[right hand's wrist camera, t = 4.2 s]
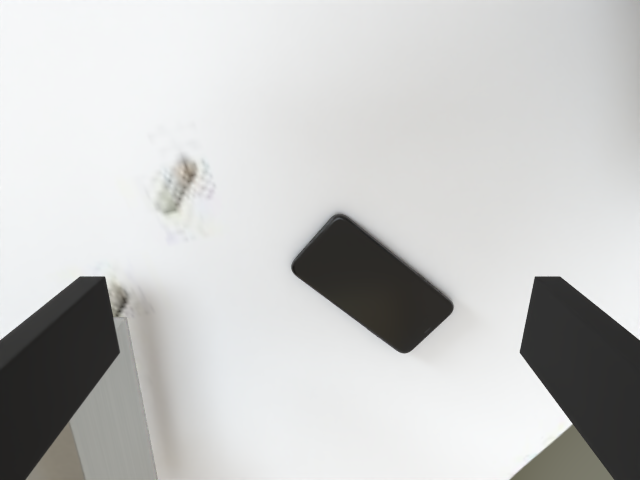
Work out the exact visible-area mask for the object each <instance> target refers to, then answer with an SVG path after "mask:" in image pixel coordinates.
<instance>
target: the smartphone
mask: <svg viewBox="0 0 640 480" xmlns="http://www.w3.org/2000/svg"><path fill="white" fill-rule="evenodd" d="M291 269H292V272H293V273H294V274H295V275H296V276H297V277H298V278H300V279H301V280H302V281H304V282H305V283H306V284H308V285H309V286H310V287H312V288H313V289H314V290H316V291H317V292H318V293H320V294H321V295H322V296H324V297H325V298H326V299H328V300H329V301H331V302H332V303H333V304H335V305H336V306H337V307H339V308H340V309H341V310H343V311H344V312H345V313H347V314H348V315H349V316H351V317H352V318H353V319H355V320H356V321H357V322H359V323H360V324H361V325H363V326H364V327H366V328H367V329H368V330H369V331H371V332H372V333H373V334H375V335H376V336H377V337H379V338H380V339H382V340H383V341H384V342H386V343H387V344H388V345H390V346H391V347H392V348H394V349H395V350H397V351H398V352H400V353H408V352H410V351H411V350H413V349H414V348H415V347H416V346H417V345H418V344H419V343H420V342H421V341H422V340H424V339H425V338H426V337H427V336H428V335H429V334H430V333H431V332H432V331H433V330H434V329H435V328H436V327H438V326H439V325H440V324H441V323H442V322H443V321H444V320H445V319H446V318H447V317H448V316H449V315H450V314H451V313H452V311H453V309H454V306H453V303H452V302H451V300H450V299H448V298H447V297H446V296H445V295H444V294H442V293H441V292H440V291H439V290H437V289H436V288H435V287H434V286H433V285H432V284H431V283H429V282H428V281H426V280H425V279H424V278H423V277H422V276H421V275H419V274H418V273H416V272H415V271H414V270H413V269H411V268H410V267H409V266H408V265H407V264H405V263H404V262H403V261H402V260H400V259H399V258H398V257H397V256H395V255H394V254H393V253H392V252H390V251H389V250H388V249H387V248H386V247H384V246H383V245H382V244H381V243H379V242H378V241H377V240H376V239H374V238H373V237H372V236H371V235H369V234H368V233H367V232H366V231H365V230H363V229H362V228H361V227H360V226H358V225H357V224H356V223H355V222H353V221H352V220H351V219H350V218H348V217H347V216H345V215H343V214H337V215H334V216H333V217H332V218H331V219H330V220H329V221H328V222H327V223H326V224H325V225H324V226H323V228H322V229H321V230H320V231H319V232H318V233H317V234H316V235H315V237H314V238H313V239H312V240H311V241H310V242H309V243H308V245H307V246H306V247H305V248H304V249H303V250H302V251H301V253H300V254H299V255H298V256H297V257H296V258H295V260H294V261H293V263H292V265H291Z"/></svg>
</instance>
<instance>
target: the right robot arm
mask: <svg viewBox="0 0 640 480" xmlns="http://www.w3.org/2000/svg"><path fill="white" fill-rule="evenodd" d="M119 354H120V349H119V344H118V339H117V334H116V329H115V324H114V319H113V314H112V309H111V304H110V299H109V294H108V289H107V284H106V279H105V277H79V278H78V279H76V280H75V281H74V282H73V283H71V284H70V285H69V286H68V287H66V288H65V289H64V290H63V291H61V292H60V293H59V294H58V295H56V296H55V297H54V298H53V299H51V300H50V301H49V302H48V303H46V304H45V305H44V306H43V307H41V308H40V309H39V310H38V311H36V312H35V313H34V314H33V315H31V316H30V317H29V318H28V319H26V320H25V321H24V322H23V323H21V324H20V325H19V326H18V327H16V328H15V329H14V330H13V331H11V332H10V333H9V334H8V335H6V336H5V337H4V338H3V339H1V340H0V480H26V479H27V477H28V476H29V474H30V473H31V472H32V470H33V469H34V468H35V466H36V465H37V464H38V462H39V461H40V460H41V458H42V457H43V456H44V454H45V453H46V452H47V450H48V449H49V448H50V446H51V445H52V444H53V442H54V441H55V440H56V438H57V437H58V436H59V434H60V433H61V432H62V430H63V429H64V427H65V426H66V425H67V423H68V422H69V421H70V419H71V418H72V417H73V415H74V414H75V413H76V411H77V410H78V409H79V407H80V406H81V405H82V403H83V402H84V401H85V399H86V398H87V397H88V395H89V394H90V393H91V391H92V390H93V389H94V387H95V386H96V385H97V383H98V382H99V380H100V379H101V378H102V376H103V375H104V374H105V372H106V371H107V370H108V368H109V367H110V366H111V364H112V363H113V362H114V360H115V359H116V358H117V356H118V355H119ZM520 354H521V355H522V356H523V358H524V359H525V360H526V362H527V363H528V364H529V366H530V367H531V368H532V370H533V371H534V372H535V374H536V375H537V376H538V378H539V379H540V380H541V382H542V383H543V385H544V386H545V387H546V389H547V390H548V391H549V393H550V394H551V395H552V397H553V398H554V399H555V401H556V402H557V403H558V405H559V406H560V407H561V409H562V410H563V411H564V413H565V414H566V415H567V417H568V418H569V419H570V421H571V422H572V423H573V425H574V426H575V427H576V429H577V430H578V431H579V433H580V434H581V436H582V437H583V438H584V440H585V441H586V442H587V444H588V445H589V446H590V448H591V449H592V450H593V452H594V453H595V454H596V456H597V457H598V458H599V460H600V461H601V462H602V464H603V465H604V466H605V468H606V469H607V470H608V472H609V473H610V474H611V476H612V477H613V479H614V480H640V340H639V339H637V338H636V337H635V336H634V335H632V334H631V333H630V332H629V331H627V330H626V329H625V328H624V327H622V326H621V325H620V324H619V323H617V322H616V321H615V320H614V319H612V318H611V317H610V316H609V315H607V314H606V313H605V312H604V311H602V310H601V309H600V308H599V307H597V306H596V305H595V304H594V303H592V302H591V301H590V300H589V299H587V298H586V297H585V296H584V295H582V294H581V293H580V292H579V291H577V290H576V289H575V288H574V287H572V286H571V285H570V284H569V283H567V282H566V281H565V280H564V279H562V278H561V277H535V279H534V284H533V289H532V294H531V299H530V304H529V309H528V314H527V319H526V324H525V329H524V334H523V339H522V344H521V349H520Z"/></svg>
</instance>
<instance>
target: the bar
mask: <svg viewBox="0 0 640 480" xmlns="http://www.w3.org/2000/svg"><path fill="white" fill-rule="evenodd" d="M113 319H114V324H115V329H116V334H117V339H118V344H119V349H120V354H119V355H118V356H117V358H116V359H115V360H114V362H113V363H112V364H111V366H110V367H109V368H108V370H107V371H106V372H105V374H104V375H103V376H102V378H101V379H100V380H99V382H98V383H97V385H96V386H95V387H94V389H93V390H92V391H91V393H90V394H89V395H88V397H87V398H86V399H85V401H84V402H83V403H82V405H81V406H80V407H79V409H78V410H77V411H76V413H75V414H74V415H73V417H72V418H71V419H70V421H69V422H68V423H67V425H66V426H65V427H64V429H63V430H62V432H61V433H60V434H59V436H58V437H57V438H56V440H55V441H54V442H53V444H52V445H51V446H50V448H49V449H48V450H47V452H46V453H45V454H44V456H43V457H42V458H41V460H40V461H39V462H38V464H37V465H36V466H35V468H34V469H33V470H32V472H31V473H30V474H29V476H28V477H27V479H26V480H158V478H157V473H156V468H155V463H154V457H153V452H152V447H151V442H150V437H149V431H148V426H147V421H146V416H145V410H144V405H143V400H142V395H141V390H140V384H139V379H138V374H137V369H136V364H135V358H134V353H133V348H132V343H131V338H130V332H129V327H128V322H127V318H126V317H113Z"/></svg>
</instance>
